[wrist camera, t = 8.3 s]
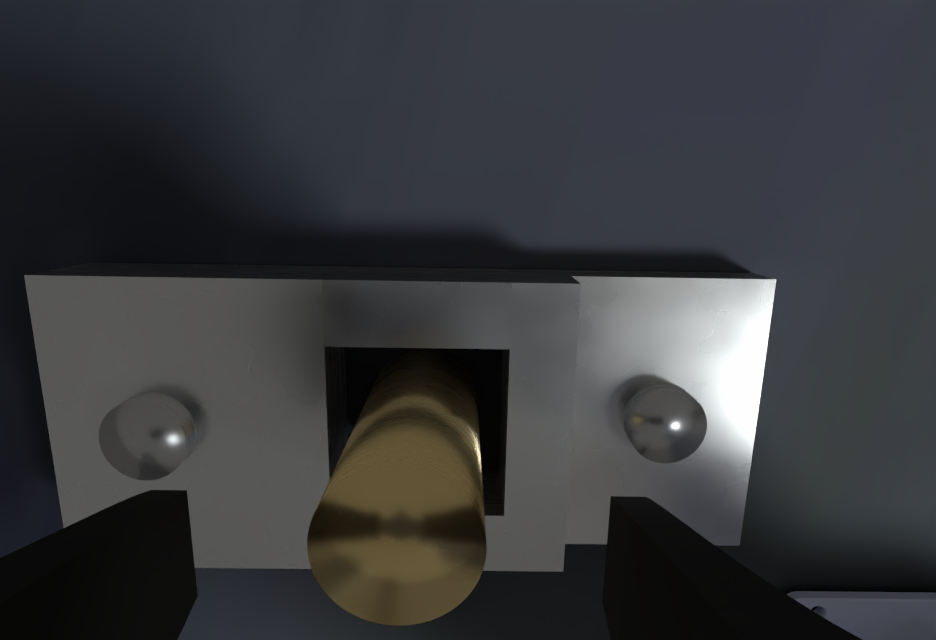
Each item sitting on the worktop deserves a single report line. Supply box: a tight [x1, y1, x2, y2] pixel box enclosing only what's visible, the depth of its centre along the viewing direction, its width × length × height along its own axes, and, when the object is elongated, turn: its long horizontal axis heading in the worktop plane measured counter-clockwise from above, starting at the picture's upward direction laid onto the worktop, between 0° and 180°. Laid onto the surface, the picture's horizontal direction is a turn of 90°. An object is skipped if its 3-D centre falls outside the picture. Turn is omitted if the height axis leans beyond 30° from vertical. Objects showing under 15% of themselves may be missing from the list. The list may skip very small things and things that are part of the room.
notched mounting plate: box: [24, 262, 776, 572], centre depth 15 cm, size 18×8×3 cm, turn 89°
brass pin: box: [307, 349, 487, 626], centre depth 13 cm, size 3×3×7 cm
